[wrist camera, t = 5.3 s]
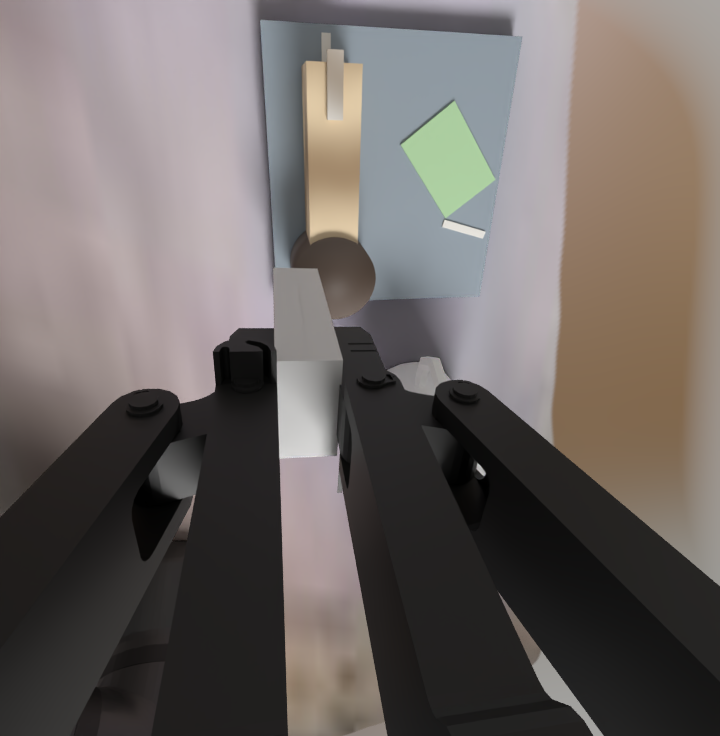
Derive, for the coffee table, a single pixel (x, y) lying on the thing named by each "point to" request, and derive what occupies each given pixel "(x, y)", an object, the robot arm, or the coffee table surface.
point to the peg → (333, 184)
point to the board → (401, 147)
